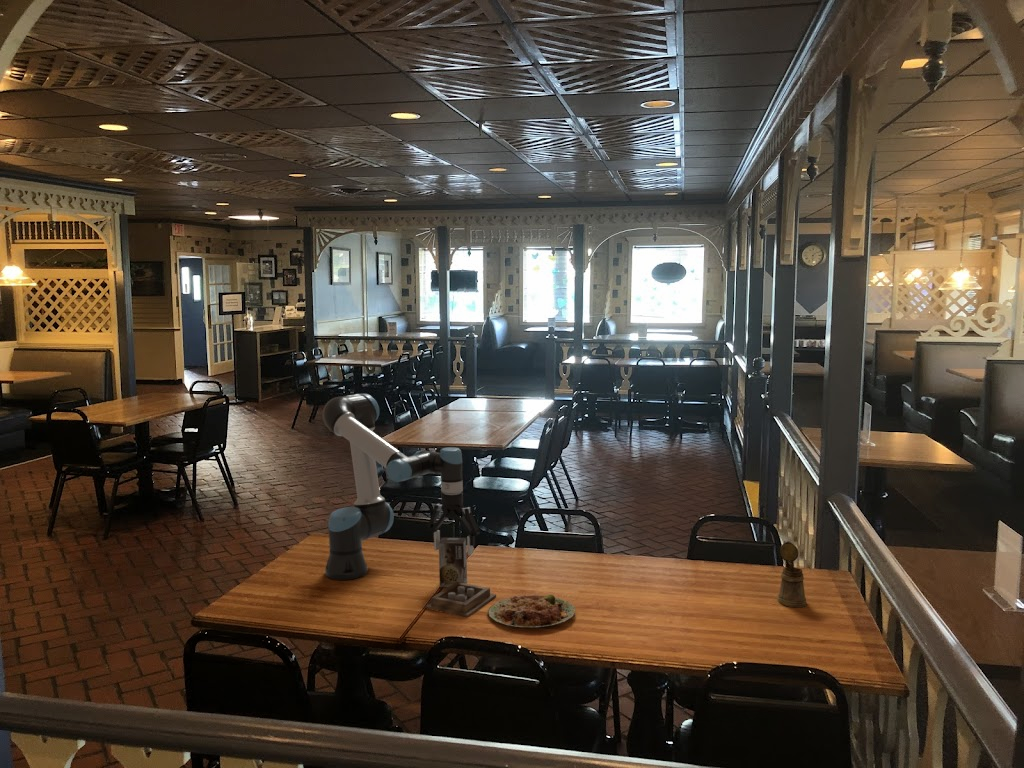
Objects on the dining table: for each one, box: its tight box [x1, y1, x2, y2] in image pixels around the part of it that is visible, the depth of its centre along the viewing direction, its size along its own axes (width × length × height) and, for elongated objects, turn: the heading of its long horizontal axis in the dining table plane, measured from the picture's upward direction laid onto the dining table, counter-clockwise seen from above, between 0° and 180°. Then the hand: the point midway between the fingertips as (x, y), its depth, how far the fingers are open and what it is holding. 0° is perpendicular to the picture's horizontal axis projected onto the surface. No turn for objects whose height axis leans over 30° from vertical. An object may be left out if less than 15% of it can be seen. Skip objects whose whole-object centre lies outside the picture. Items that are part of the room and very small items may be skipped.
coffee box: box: [438, 537, 468, 588], centre depth 278 cm, size 9×6×16 cm
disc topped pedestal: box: [777, 540, 808, 608], centre depth 262 cm, size 9×14×18 cm, turn 172°
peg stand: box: [424, 582, 497, 618], centre depth 262 cm, size 16×19×4 cm
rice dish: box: [487, 594, 576, 628], centre depth 252 cm, size 28×28×5 cm
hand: (453, 551), depth 277 cm, fingers open, 13 cm apart
